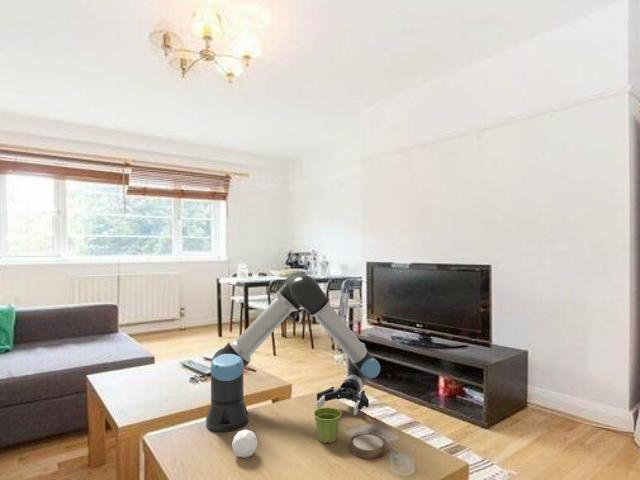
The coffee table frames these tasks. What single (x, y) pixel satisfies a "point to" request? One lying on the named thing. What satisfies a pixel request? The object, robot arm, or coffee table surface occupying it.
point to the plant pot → (327, 424)
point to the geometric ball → (244, 443)
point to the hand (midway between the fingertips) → (336, 408)
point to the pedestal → (368, 446)
